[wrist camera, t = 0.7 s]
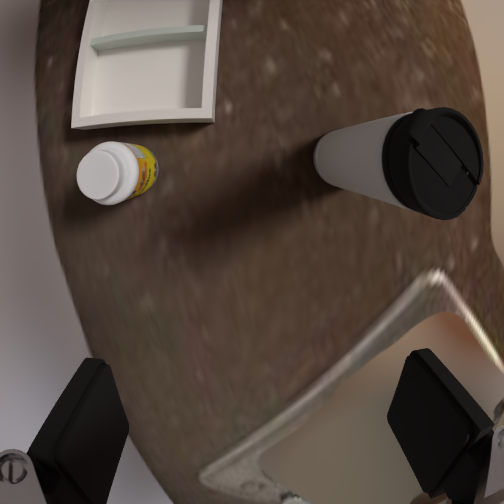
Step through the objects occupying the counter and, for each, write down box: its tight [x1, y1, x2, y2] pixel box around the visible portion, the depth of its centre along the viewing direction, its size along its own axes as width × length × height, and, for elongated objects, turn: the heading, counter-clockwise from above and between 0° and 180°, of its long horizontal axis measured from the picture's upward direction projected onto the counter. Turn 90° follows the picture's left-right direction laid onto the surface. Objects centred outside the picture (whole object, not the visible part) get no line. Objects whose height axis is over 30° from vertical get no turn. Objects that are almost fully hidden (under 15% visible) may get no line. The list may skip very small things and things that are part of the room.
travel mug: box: [313, 107, 483, 220], centre depth 22 cm, size 6×7×20 cm
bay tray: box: [71, 0, 223, 130], centre depth 25 cm, size 20×15×4 cm
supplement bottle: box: [77, 142, 158, 205], centre depth 26 cm, size 6×6×10 cm
